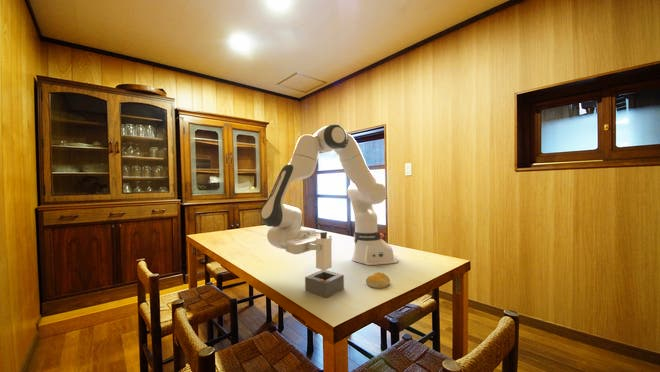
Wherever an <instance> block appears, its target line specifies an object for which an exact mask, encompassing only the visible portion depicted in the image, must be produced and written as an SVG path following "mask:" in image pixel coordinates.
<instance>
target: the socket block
mask: <svg viewBox="0 0 660 372" xmlns="http://www.w3.org/2000/svg"><path fill="white" fill-rule="evenodd" d="M304 285H305V286H304V288H305V291H306V292H307V293H311V294H314V295H317V296H320V297H323V298H324V299H328V298H329V297H331V296H333V295H335V294H336V293H338V292H339V291H342V290H344V288H345V275H344V274H341V273H338V272H334V271H330V270H328V269H327V270H321V269H319V271H316V272H314V273H311V274H308V275H306V276H304Z"/></svg>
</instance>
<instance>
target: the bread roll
mask: <svg viewBox="0 0 660 372" xmlns="http://www.w3.org/2000/svg"><path fill="white" fill-rule="evenodd" d="M365 283H366V284H367V285H368V286H369V287H370V288H374V289H384V288H387V287H388V286H389V285H390V284H391V280H390V278H389V276H388V275H387V274H385V273H384V272H379V271H378V272H374V273H373V274H371V275H368V276H367V277H366V279H365Z"/></svg>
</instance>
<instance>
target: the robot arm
mask: <svg viewBox="0 0 660 372" xmlns="http://www.w3.org/2000/svg"><path fill="white" fill-rule="evenodd" d="M332 151H334V152H335V153H336V154H337V156H338V157H337V158H338V159H339V162H340V164H341V167H342V169H343V171H344V173H345V175H346V177H347V178H348V179H349V180H350V181H351V182H352V183H351V184H350V185H349V186H348V187H347V189H346V190H347V191H346V193H347V197H348V199H349V200H350V202H351V206H352V209H353V213H354V233H353V241H354V248H353V253H352V258H351V259H352V260H353V261H354V262H356V263H359V264H364V265H367V266H375V265H385V264H387V265H388V264H397V263H398V262H399V257H398V256H396V255H395V254H394V250H393V247H392V246H391V245H390V244H389V243H388V242H386V241H385V240H384V239H383V238H384V237H385V235H384V233H383V232H380V231H379V230H378V214H377V213H376V212H375V210H374V208H373V205H376V204H377V205H378V204H382V203H383V202H384V201H385V200H386V198H387V195H388V194H387V189H386V186H384V184H382V183H381V182H380V181H379V180H378V179H377V178H376V177H375V175H374V174H373V172H372V171H371V170H370V169H369V166H368V164H367V162H366V159H365V157H364V156H363V152H362V150H361V148H360V146H359V144H358V142H357V140H355V138H354V136H353V135H352V134H348V133H347V131H346V130H345V128H344V127H342V126H341V125H340V124H335V123H334V124H333V123H332V124H329V125H326V126H324V127H322V128H320V129H318V130H317V131H315V132H314V133H312V134H303V135H301V136H300V137H299V138H298V140H297V142H296V145H295V147H294V150H293V151H292V152H293V153H292V156H291V159H290V161H289V162H288V164H285V165H284V166H283V167H282V169H281V170H280V172H279V174H278V176H277V178H276V180H275V183H274V184H273V187H272V189H271V191H270V193H269V196H268V198H267V200H266V201H265V203H264V205H263V207H262V208H261V211H260V217H261V221H262V222H263V223H264V225H265V227H271V228H269V229H268V231H267V235H266V237H267V241H268V243H269V244H270V245H271V246H272V247H275V248H277V249H281V250H285V252H286V253H290V254H292V255H300V254H304V253H307V252H310V251H316V250H318V251H319V250H322V245H320V244H317V245H316V238H318V237H320V232H321V231H316V230H314V229H309V230H308V229H302V225H303V220H304V216H303V212H302V210H301V209H300V208H298V207H296V206H294V205H293V206H292V205H288V204H285V203H283V200H284V198H285V196H286V194H287V192H288V190H289V188H290V187H289V186H290V185H291V183H292V182H294V181H298V180H305V179H308V178H310V177H311V176H312V175H314V173H315V171H316V167H317V163H318V160H319V155H320V154H323V153H324V154H325V153H329V152H332ZM327 237H331V244H332V240H333V239H332V235H331V234H328V233H327ZM352 260H351V261H352Z"/></svg>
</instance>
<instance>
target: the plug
mask: <svg viewBox="0 0 660 372" xmlns="http://www.w3.org/2000/svg"><path fill="white" fill-rule="evenodd" d="M319 232H320V237H318V238H316V245H317V244H320V245H322V250H319V251H318V250H315V269H318V270H327V271H328V270H329V269H331V268H332V267H333V265H332V243H331V237H332V236H331V237H327V234H328V231H319Z"/></svg>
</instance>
